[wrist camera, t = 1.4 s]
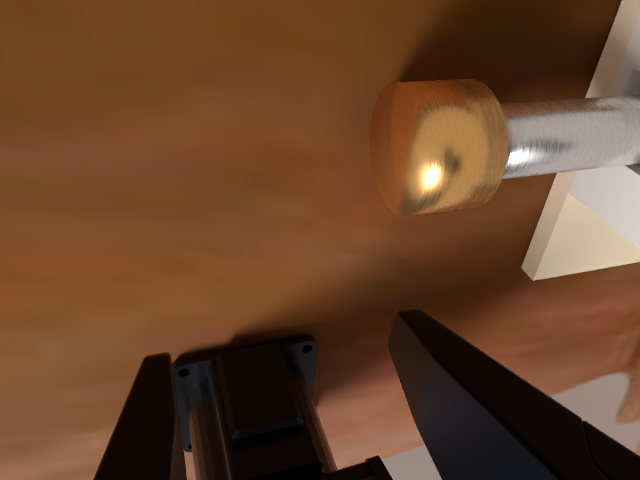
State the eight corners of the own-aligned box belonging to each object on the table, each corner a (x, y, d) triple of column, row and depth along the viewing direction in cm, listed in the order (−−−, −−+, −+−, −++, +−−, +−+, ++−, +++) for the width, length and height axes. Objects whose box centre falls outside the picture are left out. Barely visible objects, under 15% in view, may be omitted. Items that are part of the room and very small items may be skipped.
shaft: (664, 145, 23) (749, 194, 20) (364, 175, 19) (413, 242, 16) (711, 50, 20) (816, 89, 17) (379, 63, 16) (440, 115, 13)
